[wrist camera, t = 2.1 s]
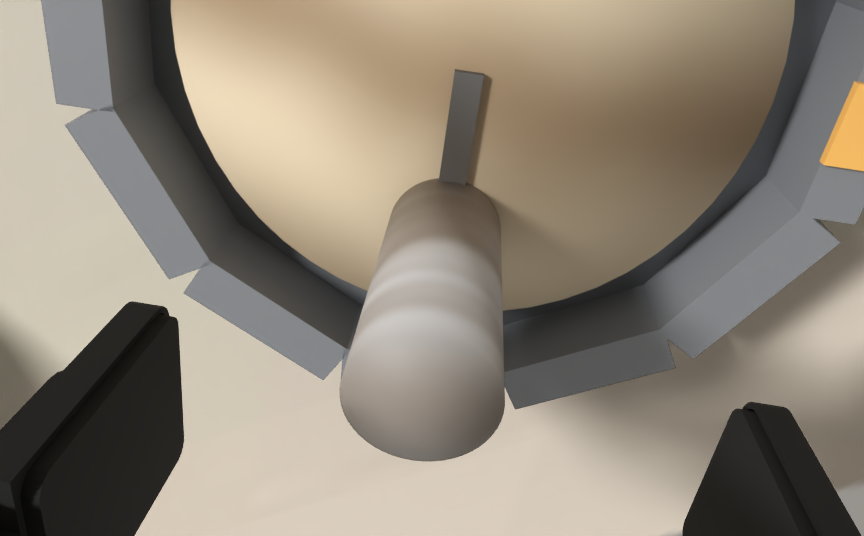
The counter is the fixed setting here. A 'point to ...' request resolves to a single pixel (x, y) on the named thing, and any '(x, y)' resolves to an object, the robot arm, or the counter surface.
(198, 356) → the counter surface
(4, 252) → the counter surface
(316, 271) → the dial housing
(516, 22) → the dial
